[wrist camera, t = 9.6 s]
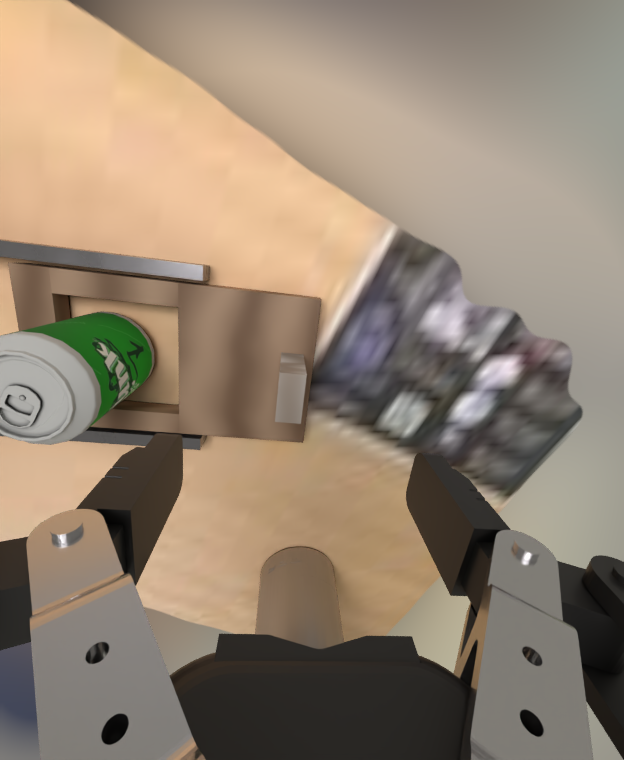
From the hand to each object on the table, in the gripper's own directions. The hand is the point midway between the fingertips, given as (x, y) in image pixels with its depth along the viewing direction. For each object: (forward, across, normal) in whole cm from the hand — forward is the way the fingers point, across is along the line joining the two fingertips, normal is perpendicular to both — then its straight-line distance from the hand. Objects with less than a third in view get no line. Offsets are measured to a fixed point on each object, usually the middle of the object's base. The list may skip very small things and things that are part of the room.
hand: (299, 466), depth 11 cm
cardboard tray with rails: (+22, +11, +3) cm, 24 cm away
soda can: (+22, +16, +3) cm, 27 cm away
